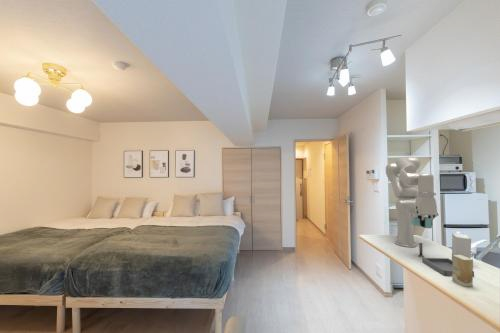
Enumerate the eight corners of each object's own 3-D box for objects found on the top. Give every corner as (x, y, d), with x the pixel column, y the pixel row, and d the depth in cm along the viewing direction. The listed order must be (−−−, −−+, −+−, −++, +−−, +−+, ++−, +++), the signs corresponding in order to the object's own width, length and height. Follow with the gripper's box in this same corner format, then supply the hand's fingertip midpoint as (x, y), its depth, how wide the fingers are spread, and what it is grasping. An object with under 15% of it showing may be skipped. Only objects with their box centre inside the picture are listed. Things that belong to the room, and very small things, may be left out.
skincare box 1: (451, 260, 142) (451, 232, 142) (466, 261, 139) (466, 234, 139) (456, 265, 134) (455, 236, 134) (472, 267, 131) (471, 237, 131)
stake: (417, 255, 149) (417, 242, 149) (421, 255, 149) (421, 242, 149) (420, 257, 147) (419, 243, 147) (424, 257, 147) (424, 243, 147)
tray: (422, 262, 139) (422, 257, 139) (448, 262, 137) (448, 258, 138) (444, 275, 121) (444, 270, 121) (474, 276, 120) (473, 271, 120)
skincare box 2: (451, 280, 116) (451, 254, 116) (460, 280, 117) (460, 254, 117) (464, 287, 110) (464, 259, 110) (473, 286, 110) (473, 259, 110)
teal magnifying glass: (409, 223, 153) (409, 214, 153) (422, 223, 152) (422, 214, 152) (421, 228, 141) (421, 218, 141) (436, 228, 140) (436, 218, 140)
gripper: (436, 194, 146) (436, 225, 146) (407, 194, 147) (407, 225, 147) (445, 195, 138) (445, 228, 138) (414, 195, 140) (415, 228, 140)
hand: (426, 226), depth 143 cm, fingers closed on teal magnifying glass, 3 cm apart
